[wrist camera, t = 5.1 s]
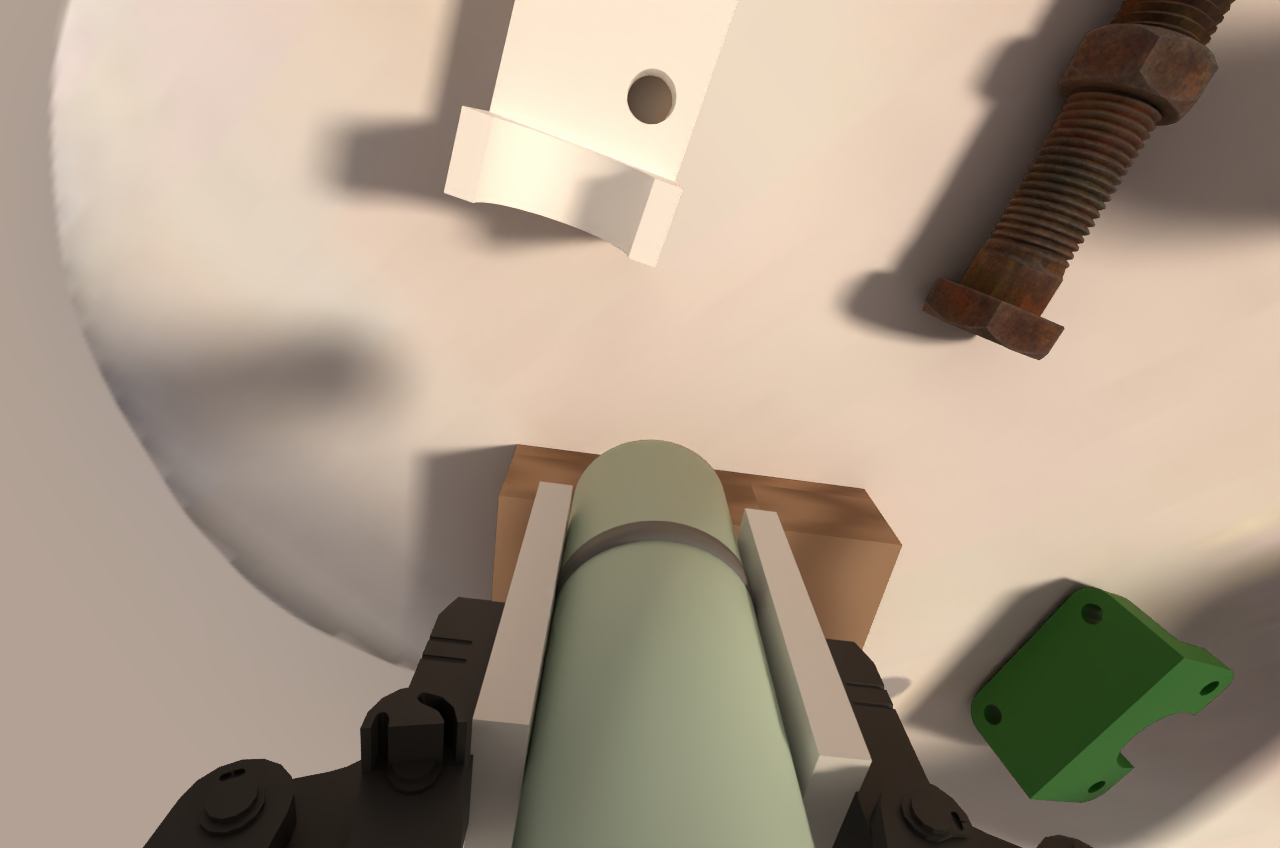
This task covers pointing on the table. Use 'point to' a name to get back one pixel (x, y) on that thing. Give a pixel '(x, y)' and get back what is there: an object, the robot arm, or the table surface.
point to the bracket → (591, 115)
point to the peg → (656, 675)
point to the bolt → (1082, 165)
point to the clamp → (1089, 695)
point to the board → (809, 514)
